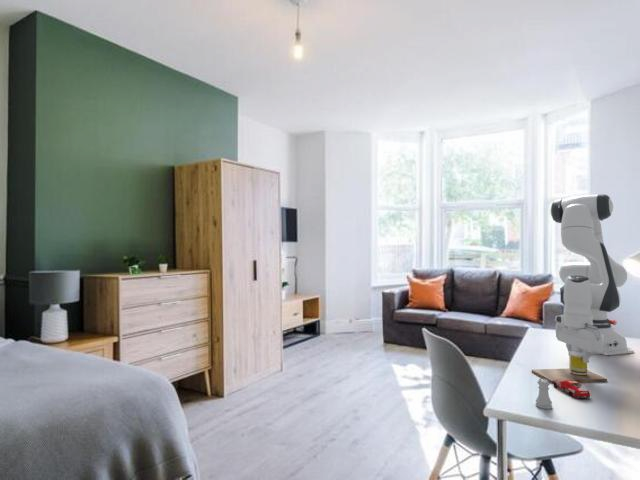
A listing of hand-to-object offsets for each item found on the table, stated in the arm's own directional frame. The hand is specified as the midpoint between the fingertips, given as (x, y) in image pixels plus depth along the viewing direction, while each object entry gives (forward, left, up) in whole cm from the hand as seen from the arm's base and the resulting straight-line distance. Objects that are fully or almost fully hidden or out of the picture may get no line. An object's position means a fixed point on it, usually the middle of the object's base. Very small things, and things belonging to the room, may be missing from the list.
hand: (578, 359), depth 146 cm
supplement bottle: (0, 0, -5) cm, 5 cm away
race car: (+13, +14, -7) cm, 20 cm away
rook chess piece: (+28, +24, -6) cm, 37 cm away
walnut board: (+4, 0, -6) cm, 7 cm away
